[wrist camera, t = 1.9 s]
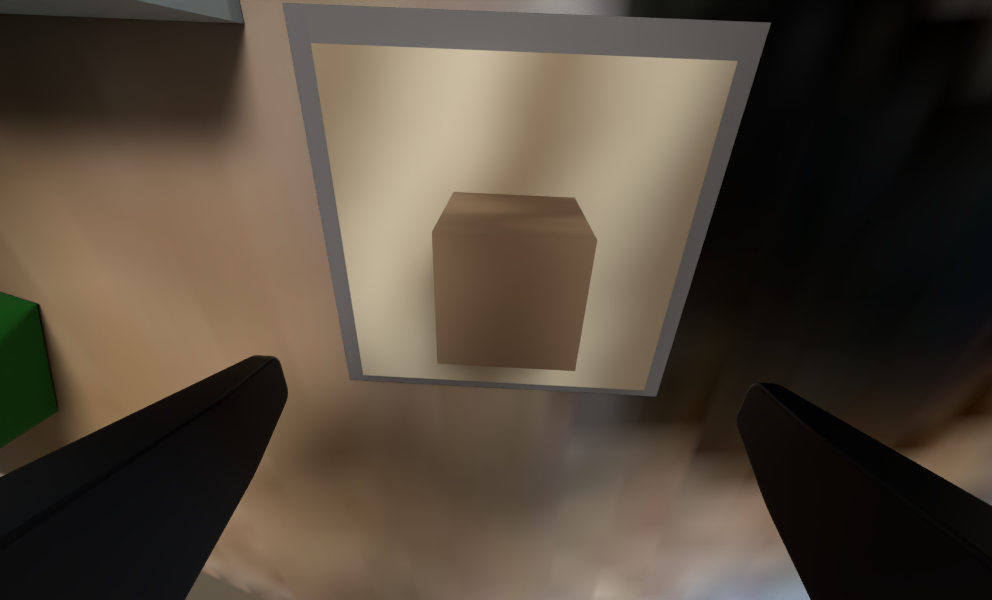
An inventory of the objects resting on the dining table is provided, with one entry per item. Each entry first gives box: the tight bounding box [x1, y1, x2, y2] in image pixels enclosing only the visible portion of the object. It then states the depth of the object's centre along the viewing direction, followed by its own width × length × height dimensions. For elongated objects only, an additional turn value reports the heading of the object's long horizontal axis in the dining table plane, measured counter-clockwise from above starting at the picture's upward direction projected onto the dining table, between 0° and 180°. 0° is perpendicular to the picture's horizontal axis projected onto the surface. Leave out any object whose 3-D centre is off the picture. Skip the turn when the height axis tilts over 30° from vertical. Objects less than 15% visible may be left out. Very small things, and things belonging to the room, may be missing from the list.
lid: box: [311, 43, 738, 390], centre depth 13 cm, size 12×12×5 cm
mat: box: [283, 3, 771, 396], centre depth 15 cm, size 14×14×1 cm
